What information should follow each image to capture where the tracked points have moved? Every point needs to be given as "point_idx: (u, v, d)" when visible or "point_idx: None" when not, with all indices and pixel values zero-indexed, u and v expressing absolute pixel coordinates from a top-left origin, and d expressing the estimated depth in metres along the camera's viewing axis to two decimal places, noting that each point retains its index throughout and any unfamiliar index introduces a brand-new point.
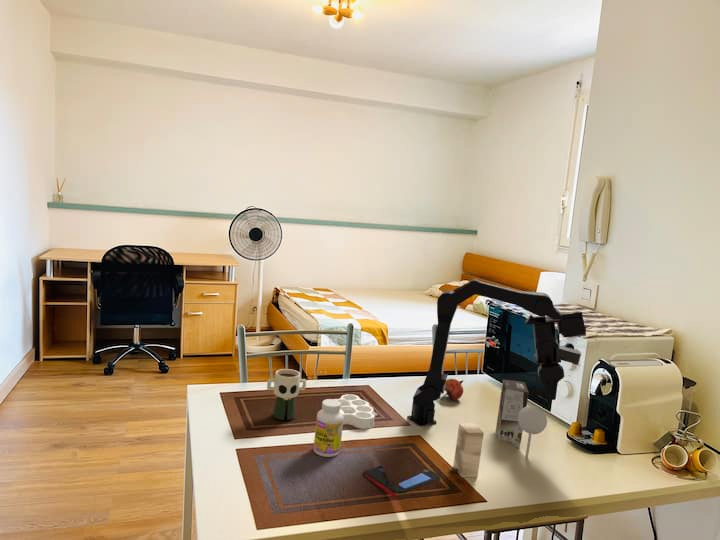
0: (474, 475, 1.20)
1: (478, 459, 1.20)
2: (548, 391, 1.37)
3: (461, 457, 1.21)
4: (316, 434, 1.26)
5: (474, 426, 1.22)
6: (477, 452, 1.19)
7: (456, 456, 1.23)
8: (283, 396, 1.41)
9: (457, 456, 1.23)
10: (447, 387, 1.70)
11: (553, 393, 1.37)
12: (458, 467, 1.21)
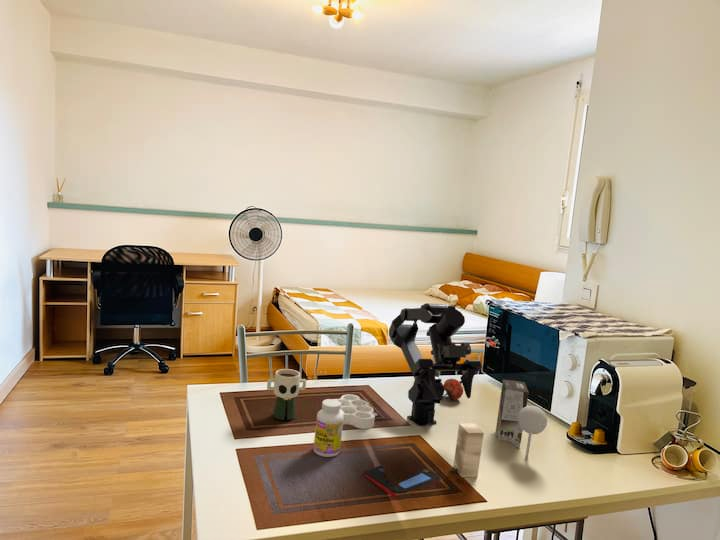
0: (474, 475, 1.20)
1: (478, 459, 1.20)
2: (430, 390, 1.35)
3: (461, 457, 1.21)
4: (316, 434, 1.26)
5: (474, 426, 1.22)
6: (477, 452, 1.19)
7: (456, 456, 1.23)
8: (283, 396, 1.41)
9: (457, 456, 1.23)
10: (447, 387, 1.70)
11: (434, 391, 1.34)
12: (458, 467, 1.21)
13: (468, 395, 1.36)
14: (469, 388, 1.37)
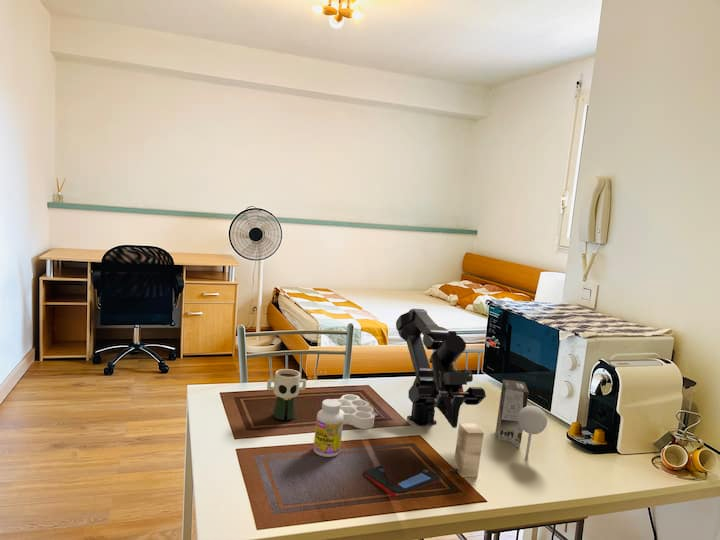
0: (474, 475, 1.20)
1: (478, 459, 1.20)
2: (447, 418, 1.32)
3: (461, 457, 1.21)
4: (316, 434, 1.26)
5: (474, 426, 1.22)
6: (477, 452, 1.19)
7: (456, 456, 1.23)
8: (283, 396, 1.41)
9: (457, 456, 1.23)
10: None
11: (450, 419, 1.31)
12: (458, 467, 1.21)
13: None
14: (456, 417, 1.31)
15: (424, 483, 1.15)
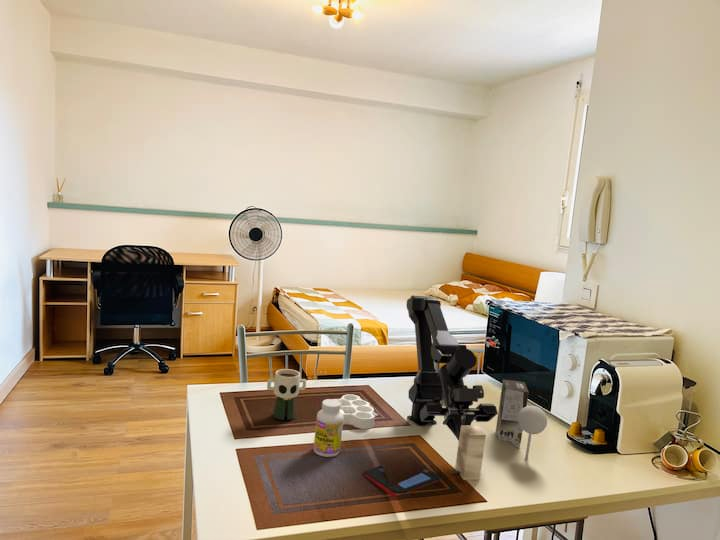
0: (476, 478, 1.19)
1: (480, 461, 1.19)
2: (457, 437, 1.25)
3: (463, 459, 1.19)
4: (316, 434, 1.26)
5: (476, 428, 1.21)
6: (479, 455, 1.18)
7: (458, 458, 1.22)
8: (283, 396, 1.41)
9: (459, 458, 1.22)
10: None
11: None
12: (460, 470, 1.20)
13: None
14: None
15: (424, 483, 1.15)
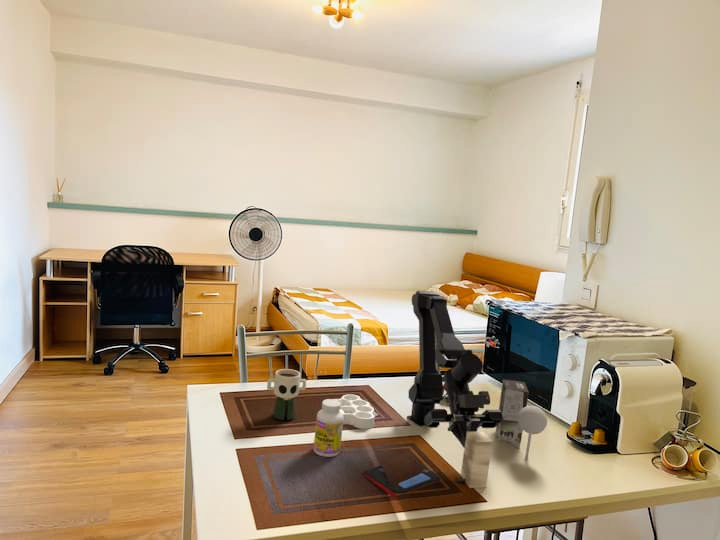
0: (482, 485, 1.16)
1: (487, 469, 1.16)
2: (462, 444, 1.22)
3: (469, 466, 1.16)
4: (316, 434, 1.26)
5: (482, 435, 1.18)
6: (485, 462, 1.15)
7: (464, 465, 1.19)
8: (283, 396, 1.41)
9: (464, 466, 1.18)
10: None
11: None
12: (466, 477, 1.17)
13: None
14: None
15: (424, 483, 1.15)
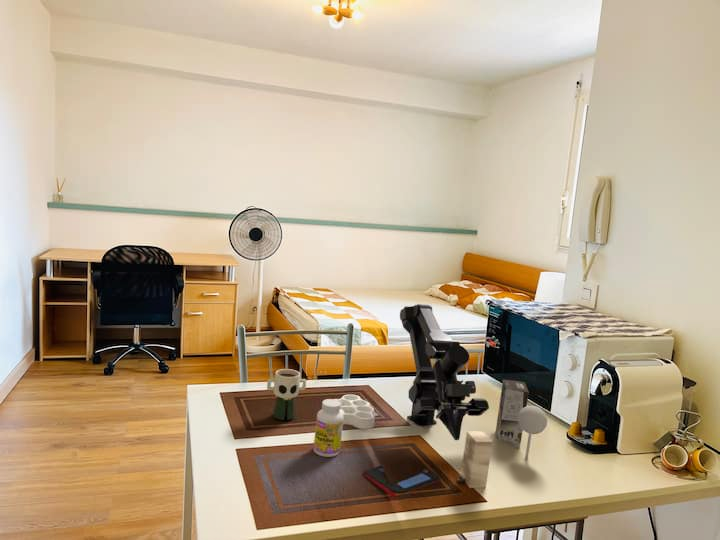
0: (482, 485, 1.16)
1: (487, 469, 1.16)
2: (449, 430, 1.30)
3: (469, 466, 1.16)
4: (316, 434, 1.26)
5: (482, 435, 1.18)
6: (485, 462, 1.15)
7: (464, 465, 1.19)
8: (283, 396, 1.41)
9: (464, 466, 1.18)
10: None
11: (453, 432, 1.29)
12: (466, 477, 1.17)
13: None
14: (458, 429, 1.29)
15: (424, 483, 1.15)
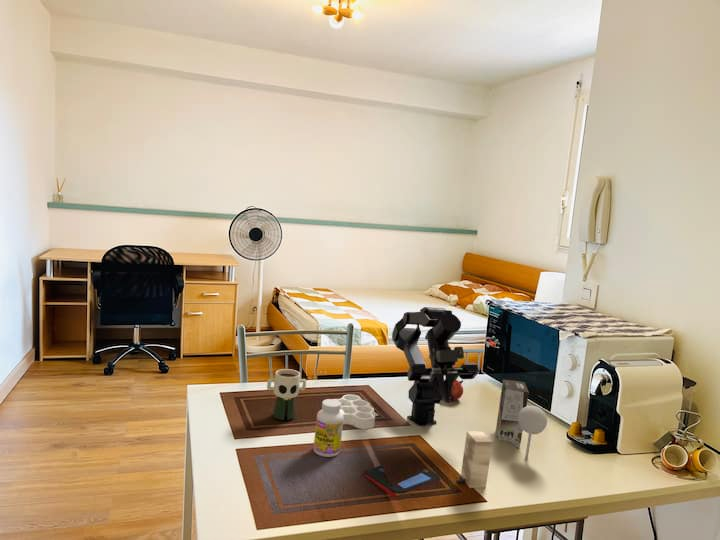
0: (482, 485, 1.16)
1: (487, 469, 1.16)
2: (441, 394, 1.38)
3: (469, 466, 1.16)
4: (316, 434, 1.26)
5: (482, 435, 1.18)
6: (485, 462, 1.15)
7: (464, 465, 1.19)
8: (283, 396, 1.41)
9: (464, 466, 1.18)
10: None
11: (443, 395, 1.36)
12: (466, 477, 1.17)
13: (447, 399, 1.36)
14: (448, 392, 1.36)
15: (424, 483, 1.15)
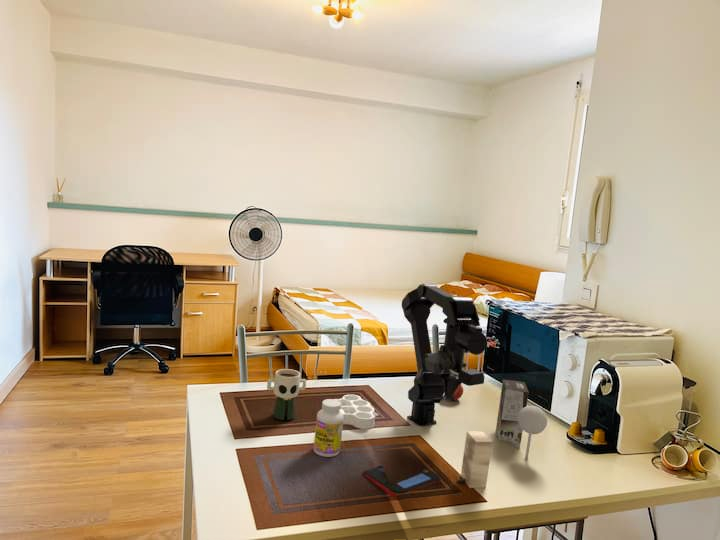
0: (482, 485, 1.16)
1: (487, 469, 1.16)
2: None
3: (469, 466, 1.16)
4: (316, 434, 1.26)
5: (482, 435, 1.18)
6: (485, 462, 1.15)
7: (464, 465, 1.19)
8: (283, 396, 1.41)
9: (464, 466, 1.18)
10: None
11: None
12: (466, 477, 1.17)
13: None
14: (447, 391, 1.38)
15: (424, 483, 1.15)
